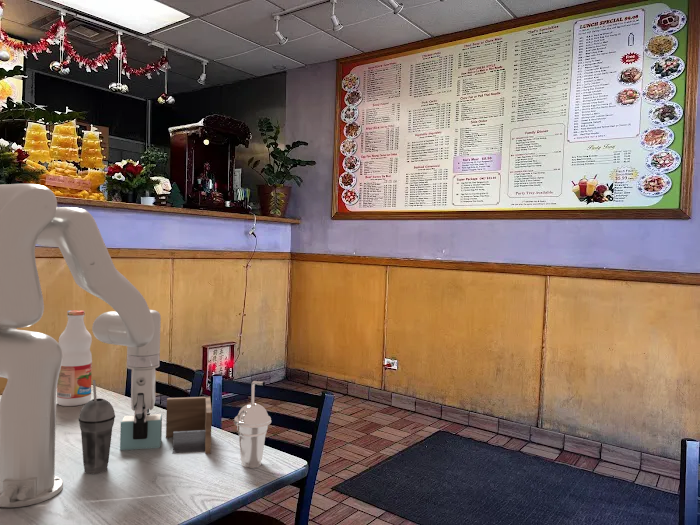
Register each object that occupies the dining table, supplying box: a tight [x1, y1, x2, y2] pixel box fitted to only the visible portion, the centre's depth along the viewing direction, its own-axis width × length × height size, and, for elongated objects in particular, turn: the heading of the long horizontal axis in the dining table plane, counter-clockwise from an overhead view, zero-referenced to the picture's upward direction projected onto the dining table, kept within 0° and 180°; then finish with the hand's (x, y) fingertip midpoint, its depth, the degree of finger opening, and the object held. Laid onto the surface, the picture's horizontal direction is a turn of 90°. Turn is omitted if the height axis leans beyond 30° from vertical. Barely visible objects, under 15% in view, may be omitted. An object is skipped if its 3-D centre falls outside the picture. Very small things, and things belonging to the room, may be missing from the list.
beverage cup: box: [78, 379, 116, 475], centre depth 118 cm, size 7×7×20 cm
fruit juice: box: [56, 309, 93, 407], centre depth 167 cm, size 9×9×28 cm
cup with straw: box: [233, 380, 272, 469], centre depth 124 cm, size 8×9×20 cm
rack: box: [165, 396, 213, 455], centre depth 135 cm, size 14×11×10 cm
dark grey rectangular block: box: [172, 430, 205, 455], centre depth 132 cm, size 4×8×4 cm, turn 106°
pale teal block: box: [119, 413, 163, 451], centre depth 134 cm, size 5×9×7 cm, turn 105°
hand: (141, 433), depth 134 cm, fingers open, 5 cm apart
